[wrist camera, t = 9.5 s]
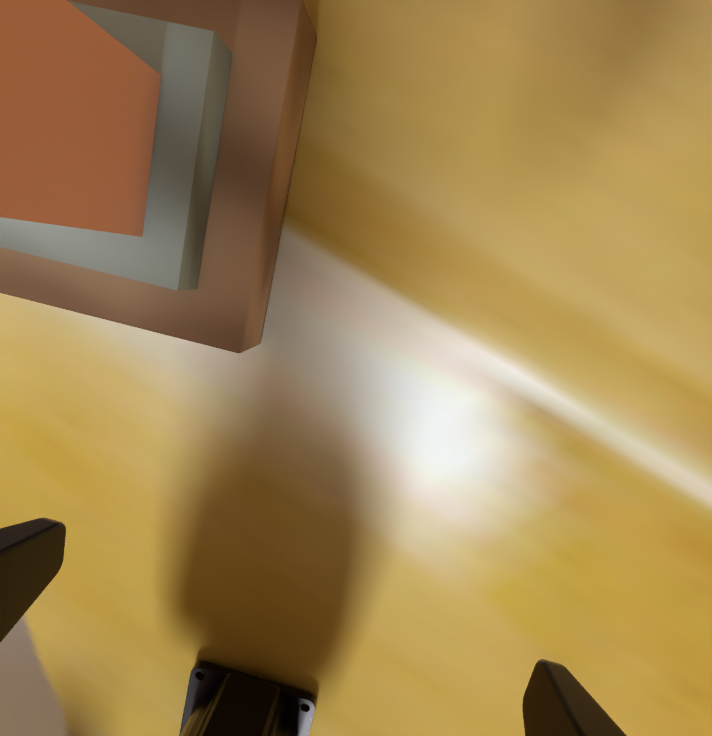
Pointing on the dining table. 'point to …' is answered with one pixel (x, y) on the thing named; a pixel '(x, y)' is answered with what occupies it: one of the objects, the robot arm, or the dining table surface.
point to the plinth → (236, 193)
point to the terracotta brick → (72, 120)
